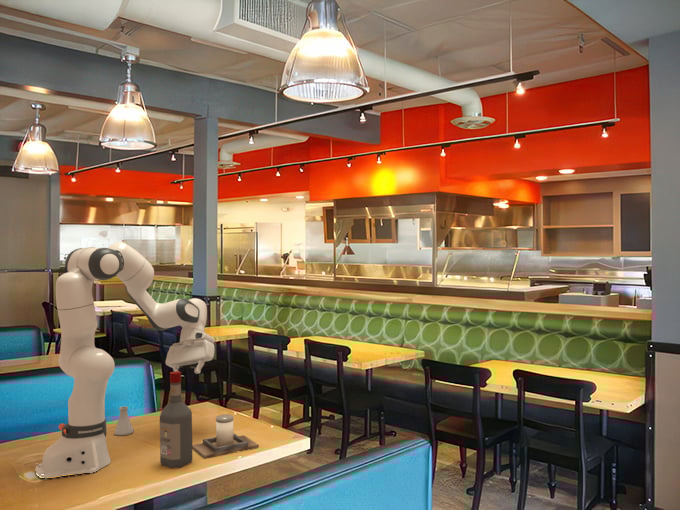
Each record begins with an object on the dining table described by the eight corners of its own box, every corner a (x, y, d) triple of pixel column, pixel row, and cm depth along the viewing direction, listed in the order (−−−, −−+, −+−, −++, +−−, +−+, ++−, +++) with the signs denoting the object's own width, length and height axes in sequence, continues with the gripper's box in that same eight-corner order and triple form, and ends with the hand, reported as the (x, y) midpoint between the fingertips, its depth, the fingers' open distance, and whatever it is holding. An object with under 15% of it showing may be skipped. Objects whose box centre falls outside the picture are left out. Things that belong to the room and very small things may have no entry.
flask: (137, 430, 235) (136, 405, 235) (128, 436, 228) (127, 410, 227) (119, 430, 236) (119, 404, 235) (110, 435, 228) (109, 409, 228)
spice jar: (219, 449, 209) (219, 420, 209) (213, 443, 215) (213, 416, 214) (236, 445, 213) (235, 417, 212) (229, 440, 218) (229, 413, 217)
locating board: (204, 458, 203) (204, 451, 203) (191, 448, 214) (191, 441, 214) (258, 447, 213) (258, 440, 213) (243, 437, 224) (243, 431, 224)
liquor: (176, 469, 193) (174, 376, 192) (156, 464, 198) (155, 373, 197) (196, 461, 201) (195, 371, 200) (177, 456, 205) (176, 368, 205)
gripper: (165, 341, 232) (159, 376, 224) (208, 332, 224) (203, 368, 217) (175, 347, 236) (170, 381, 229) (218, 338, 228) (214, 373, 221)
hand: (186, 374), depth 223 cm, fingers open, 8 cm apart
